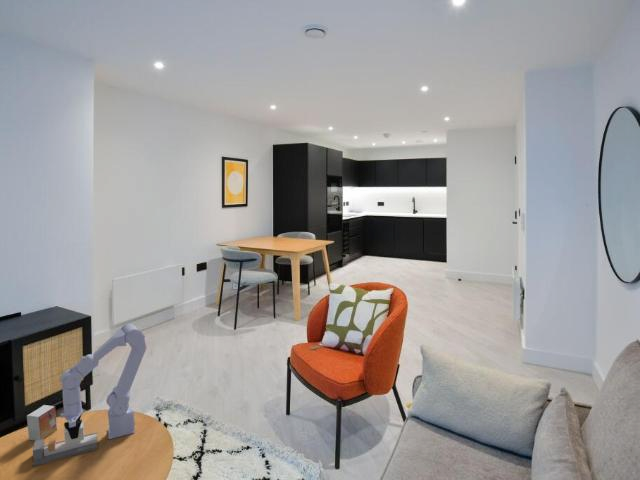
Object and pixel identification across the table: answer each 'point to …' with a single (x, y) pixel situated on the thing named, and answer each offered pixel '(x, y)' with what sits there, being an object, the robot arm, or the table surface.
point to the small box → (41, 422)
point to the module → (80, 437)
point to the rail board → (62, 449)
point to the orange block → (52, 444)
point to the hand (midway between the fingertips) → (75, 434)
